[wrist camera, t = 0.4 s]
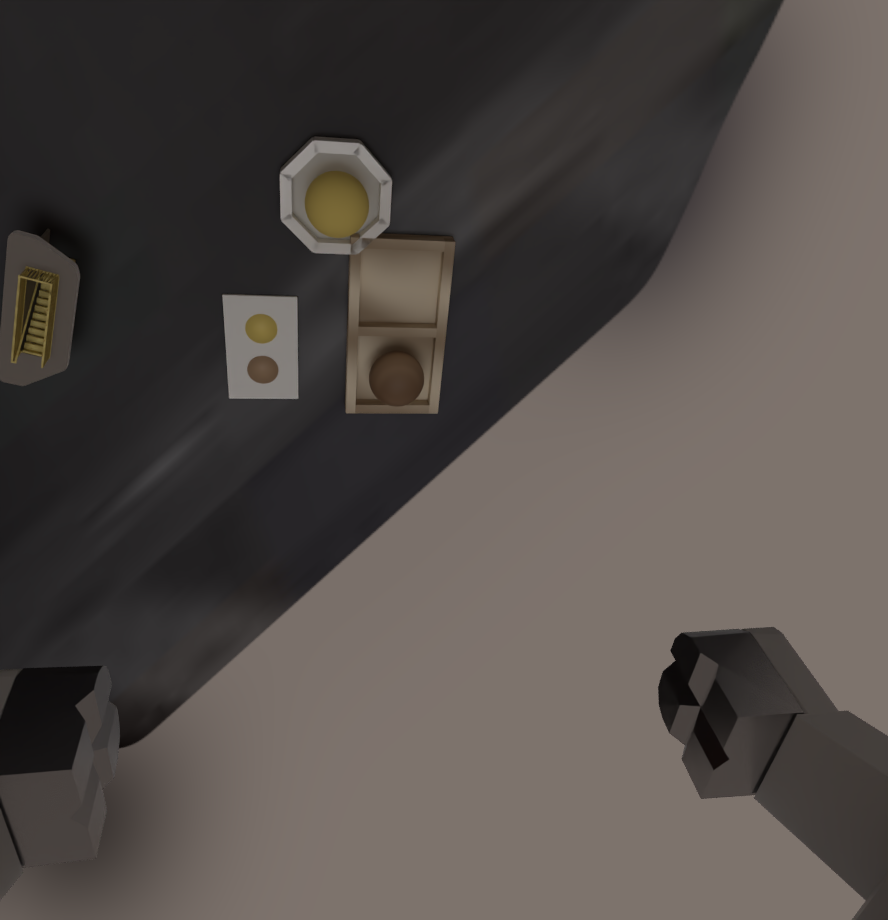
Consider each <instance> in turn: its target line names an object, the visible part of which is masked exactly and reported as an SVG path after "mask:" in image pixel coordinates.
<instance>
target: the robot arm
mask: <svg viewBox="0 0 888 920" xmlns="http://www.w3.org/2000/svg"><path fill="white" fill-rule="evenodd" d="M671 653H672V654H673V656H674V658H675V660H676V661H675V662H673V663H672V664H671V665H670V666H669V667H667V668H666V669H665V670H664V671H663V673H662V676H661V680H660V683H659V686H658V690H659V692H658V693H659V707H660V711H661V714H662V718H663V720H664V723H665V725H666V727H667V729H668V731H669V733H670V734H671V735H672V736H674V737H675V738H676V739H678V740H679V741H680V742H681V743H683V744H684V745H685V748H684V751H683V755H682V761H683V763H684V765H685V767H686V769H687V771H688V773H689V775H690V777H691V779H692V781H693V783H694V785H695V787H696V790H697V792H698V794H699V796H700V798H701V799H704V798H718V797H733V796H746V795H755V797H754V799H756V800H757V801H758V802H759V803H760V804H761V805H762V806H763V807H764V808H766V809H767V810H768V811H769V812H770V813H771V814H772V815H773V816H774V817H775V818H776V819H777V820H778V821H780V822H781V823H782V824H783V825H784V826H785V827H786V828H787V829H788V830H790V832H792V833H793V834H794V835H795V836H796V837H797V838H798V839H800V840H801V841H802V842H803V843H804V844H805V845H806V846H807V847H808V848H809V849H810V850H811V851H812V852H813V853H815V854H816V855H817V856H818V857H819V858H820V859H821V860H822V861H823V862H825V864H827V865H828V866H829V867H830V868H831V869H832V870H833V871H834V872H835V873H836V874H838V875H839V876H840V877H841V878H842V879H843V880H844V881H845V882H846V883H847V884H848V885H850V886H851V887H852V888H853V889H854V890H855V891H856V892H857V893H858V894H859V895H861V896H862V897H863V898H864V899H865V900H866V901H865V903H864V904H863V905H862V907H861V908H860V909H859V911H858V912H857V914H856V915H855V916H854V918H853V919H852V920H888V736H887V735H885V734H883V733H882V732H881V731H879V730H877V729H875V728H874V727H872V726H871V725H869V724H868V723H866V722H865V721H863V720H862V719H860V718H858V717H857V716H855V715H854V714H852V713H850V712H849V711H838V710H837V708H836V707H835V706H834V704H833V703H832V701H831V700H830V699H829V697H828V696H827V694H826V693H825V692H824V690H823V689H822V687H821V686H820V685H819V683H818V682H817V681H816V679H815V678H814V676H813V675H812V674H811V672H810V671H809V670H808V668H807V667H806V665H805V664H804V663H803V661H802V660H801V658H800V657H799V656H798V654H797V653H796V651H795V650H794V649H793V648H792V646H791V645H790V643H789V642H788V640H787V639H786V638H785V636H784V635H783V634H782V633H781V632H780V631H779V630H777V629H776V628H774V627H766V628H749V629H741V630H740V629H729V630H716V631H700V632H685V633H681V634H680V635H679V636H677V637H676V638H675V640H674V643H673V646H672V648H671ZM111 685H112V683H111V679H110V675H109V671H108V667H105V666H79V667H48V668H23V669H4V670H0V900H1V899H2V898H3V896H4V895H5V894H6V893H7V892H8V890H9V889H10V888H11V887H12V885H13V884H14V883H15V882H16V881H17V879H18V878H19V877H20V876H21V874H22V873H23V869H22V868H26V867H33V866H42V865H49V864H58V863H66V862H74V861H81V860H89V859H96V856H97V852H98V847H99V843H100V838H101V834H102V829H103V825H104V821H105V816H106V812H107V808H106V804H105V799H104V795H103V791H102V790H103V789H104V787H106V786H107V785H108V784H109V783H110V782H111V781H112V779H114V774H115V770H116V764H117V760H118V750H119V738H120V732H119V718H118V712H117V707H116V706H115V705H113V704H112V703H111V702H109V701H108V698H109V694H110V689H111Z"/></svg>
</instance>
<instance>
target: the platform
mask: <svg viewBox="0 0 888 920" xmlns="http://www.w3.org/2000/svg"><path fill="white" fill-rule="evenodd" d="M50 230H51V229H47V230H46V231H45V232H44V233H43V234H42V236H41V237H39V236H37V235H34V234H31V233H27V232H23V231H19V230H16V231H14V232H12V233H11V234H10V235H9V237H8V241H7V253H6V266H5V279H4V291H3V304H2V316H1V329H0V380H1V381H3V382H6V383H10V384H15V385H19V386H25V385H28V384H30V383H33V382H36V381H38V380H41V379H43V378H46V377H49V376H51V375H54V374H56V373H59V372H62V371H64V370H65V369H66V368H67V366H68V364H69V359H70V351H71V343H72V336H73V328H74V320H75V313H76V305H77V297H78V290H79V282H80V272H79V268H78V266H77V264H76V263H75V261H76V260H74V259H70V258H68V257H67V256H66V255H64V254H63V253H61V252H60V251H59V250H57V249H56V248H54V247H53V246H52V245H50V244H49V239H50ZM55 277H56V278H55ZM48 291H49V292H48ZM45 298H46V299H45ZM42 305H43V306H42ZM45 306H47V307H45ZM42 313H43V314H42ZM46 314H47V315H46ZM42 321H44V322H42ZM42 329H44V330H42ZM39 336H40V337H39ZM42 337H44V338H42ZM38 344H40V345H38ZM42 345H43V346H42Z"/></svg>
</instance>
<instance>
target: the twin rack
mask: <svg viewBox="0 0 888 920" xmlns="http://www.w3.org/2000/svg"><path fill="white" fill-rule="evenodd" d="M358 239H360V234H359V233H354V234H352V235H350V243H351V244H352V245H353V244H354V243H355V242H356V241H357V240H358ZM368 239H369V238H364V239H362V243H361V242H360V240H359V241H358V242H360V243H361V244H362V245H361V246H362V247H363V244H364V246H365V245H366V244H368V245H366V247H363V248H364V249H363V250H362V251H361V252H360V253H359V254H358V253H357V255H353V254H352V253H351V254H349V282H348V317H347V353H346V388H345V410H346V413H438V405H439V395H440V386H441V376H442V367H443V357H444V347H445V338H446V328H447V318H448V309H449V299H450V289H451V280H452V270H453V261H454V251H455V240H454V238H453V237H452V236H431V235H409V234H388V233H381V234H380V235H379V236H377V237H376V238H373V239H372V238H370V240H368ZM364 240H365V241H364ZM368 241H370V242H368ZM365 242H366V244H365ZM369 243H370V244H369ZM358 244H359V243H358ZM358 244H357V245H358ZM352 245H351V246H352ZM352 248H353V247H352ZM352 248H351V249H352ZM354 249H355V248H354ZM359 249H361V248H359ZM358 251H360V250H358ZM351 252H352V251H351ZM353 252H354V253H355V251H353ZM391 351H402V352H406V353H408V354H410V355H412V356H413V357H414V358H415V359H416V360H417V361H418V362H419V363H420V365H421V367H422V369H423V372H424V386H423V389H422V391H421V393H420V395H419V396H418V397H417V398H416V399H415V400H414V401H413V402H411V403H409V404H407V405H404V406H399V407H395V406H389V405H386V404H384V403H382V402H381V401H380V400H378V399H377V398H376V397H375V395H374V394H373V392H372V390H371V388H370V384H369V373H370V369H371V367H372V365H373V363H374V362H375V361H376V359H377V358H379V357H380V356H381V355H383V354H385V353H387V352H391Z"/></svg>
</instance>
